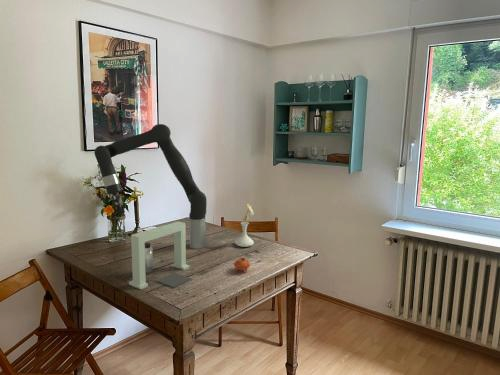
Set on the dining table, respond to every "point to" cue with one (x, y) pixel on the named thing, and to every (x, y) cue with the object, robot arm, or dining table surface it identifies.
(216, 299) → the dining table surface
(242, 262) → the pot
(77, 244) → the dining table surface
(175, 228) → the frame
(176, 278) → the rubber mat
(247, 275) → the dining table surface
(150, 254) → the plug peg
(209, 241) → the dining table surface
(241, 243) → the flower in vase
